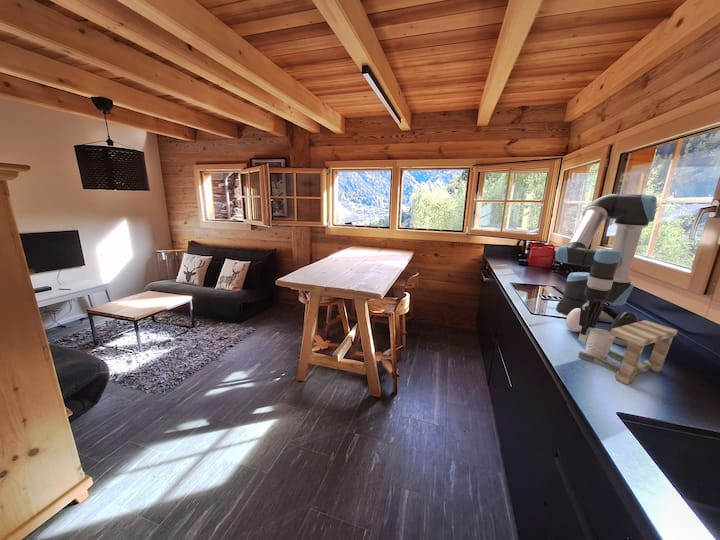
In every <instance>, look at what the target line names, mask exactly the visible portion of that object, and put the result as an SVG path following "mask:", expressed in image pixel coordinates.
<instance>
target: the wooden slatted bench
mask: <svg viewBox="0 0 720 540" xmlns="http://www.w3.org/2000/svg"><path fill="white" fill-rule="evenodd" d="M678 331H679V330H678V329H676V328H672V327H670V326H666V325H663V324H660V323H656V322H653V321H650V320H647V319H644V320H641V321H639V322H636V323H632V324H628V325H624V326H621V327H617V328H613V329H611V331H610V335H613V336H616V337H618V338H621V339H623V340H626V341H629V342H628V345H627V346H626V349H625V353H624V354H620V353H618V352H616V351H613V349H610V350H609V352H608V353H607V356H609V357H611V358H613V359H615V360H617V361H620V362H621V363H620V364H621V365H620V366H618V365H616V364H614V363H612V362H609V361H607V360H605V359H601V358H599V357H596V356H594V355H591V354H587V353H586V352H585V351H584V352H583V351H582V350H581V351H579V353H578V358H581V359H583V360H586V361H590V362H593V363H595V364H597V365H599V366H601V367H604V368H605V369H607V370H610V371H612V372H614V373H616V374H615V377H614V378H615V379H616V381H618V382H619V383H620V384H621V383H622V384H624V385H625V386H629V385H631V384H632V383H633V379H634V377H635V376H637V375H640V374H642V373H644V372H648V371H652V372H655V373H660V372H661V371H662V368H663V366H664V363H665V360H666V357H667V356H668V352H669V350H670V347H671V344H672V342H673V338H674V336H677V334H678ZM651 344H654V345H653V349H652V351H651V354H650V357H649V359H645V360H644V361H641V362H640V359H641V356H642V353H643V351H644V348H645V346H648V345H651Z"/></svg>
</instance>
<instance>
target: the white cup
mask: <svg viewBox="0 0 720 540" xmlns="http://www.w3.org/2000/svg"><path fill="white" fill-rule="evenodd" d="M614 339H615V336H613V335H610V332H609V331H608V330H606V329H602V328H599V327H595V328H590V331H589V335H588V338H587V343H585V349H584V353H587V354H591V355H594V356H596V357H599V358H601V359H603V360H605V359H607V356H608V355H607V353H608V352H609V350H611V348H612V346H613V344H614V343H613V341H614Z"/></svg>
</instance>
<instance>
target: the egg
mask: <svg viewBox="0 0 720 540" xmlns="http://www.w3.org/2000/svg"><path fill="white" fill-rule="evenodd" d="M580 311H581V309H580V308H576V309H573V310H572V311H571V312H570V313H569V314H568V315H566V322H565V324H566V326H567V328H568V329H569V331H571V332H573V333H577V332H580V331H581V328H582V326H580V325H579V320H580Z"/></svg>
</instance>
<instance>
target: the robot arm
mask: <svg viewBox="0 0 720 540" xmlns="http://www.w3.org/2000/svg"><path fill="white" fill-rule="evenodd" d="M656 210H657V197H656V196H655V195H653V194H643V193H642V194H635V193H634V194H619V193H611V194H607V195H603V196H600V197H599V198H597V199H595V200H592V202H590V203H589V204H588V205H587V206H586V207H585V209H584V210H583V212H582V218H581V221H579V223H578V225H577V227H576V229H575V230H574V232H573V234H572V235H571V237H570V239H569V240H568V243H567V244H566V245H559V246H558V248H557V250H556V253H555V261H557V262H559V263H564V264H568V265H569V264H570V265H576V266H579V267H580V266H581V267H585V268H586V267H587V268H590V271H589V272H584V271H581V272H580V271H577V272H576V271H575V272H570V273H569V274H568V276H567V279H566V283H565V287H564V290H563V295H562V296H561V297H562V298H561V299H560V300H559V302H558V303H557V304H556V307H555V310H556V311H557V312H558V313H560V314H563V315H565V316H568V314H569V313H570V312H571V311H572V310H573V309H576V308H580V309H581V311H580V320H579V325H580V326H582V328H581V330H580V331H579V335H578V339H577V340H578V341H579V342H582V343H585V344H586V343H587V338H588V335H589V331H590V328H596V325H597V323H598V320H599V318H600V316H601V314H602V311H603V309H604V308H605V306H606V303H608V304H610V305H616V306H617V305H618V306H623V305H625V304H626V302H627V300H628V299H629V297H630V294H631V293H632V291H633V288H634V287H635V285H634V284H632V279H631V278H630V277H629V275H630V272H631V269H632V266H633V261H634V258H635V254H636V251H637V248H638V244H639V240H640V237H641V235H642V231H643V229H644V228H646V227H648V226H649V223H651V222H654V221H655V219H656V218H655V216H656V213H657V211H656ZM606 219H611V220H614V224H615V225H616V226H617V230H616V232H615V236H614V240H613V243H612V247H611V249H610V248H603V247H602V248H600V247H599V248H597V249H590V248H589V247H590V245H591V243H592V241H593V239H594V238H595V235H596V233H597V231H598V229H599V227H600V226H601V224H602V222H605V220H606Z"/></svg>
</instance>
